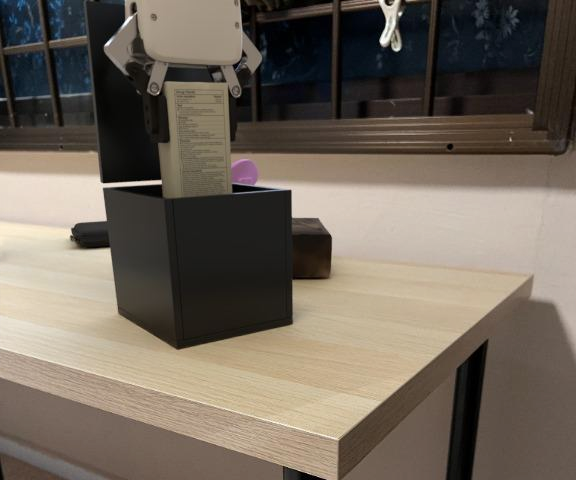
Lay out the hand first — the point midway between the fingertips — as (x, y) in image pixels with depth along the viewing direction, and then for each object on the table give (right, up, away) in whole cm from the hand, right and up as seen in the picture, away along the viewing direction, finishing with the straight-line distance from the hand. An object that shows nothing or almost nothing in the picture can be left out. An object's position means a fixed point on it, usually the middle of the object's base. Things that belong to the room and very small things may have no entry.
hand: (193, 140), depth 60 cm
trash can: (0, -17, +8) cm, 18 cm away
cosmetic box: (0, -7, +3) cm, 7 cm away
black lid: (-4, +6, +4) cm, 9 cm away
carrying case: (-26, +3, +55) cm, 61 cm away
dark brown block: (+11, -6, +33) cm, 36 cm away
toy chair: (+1, -2, +42) cm, 42 cm away
